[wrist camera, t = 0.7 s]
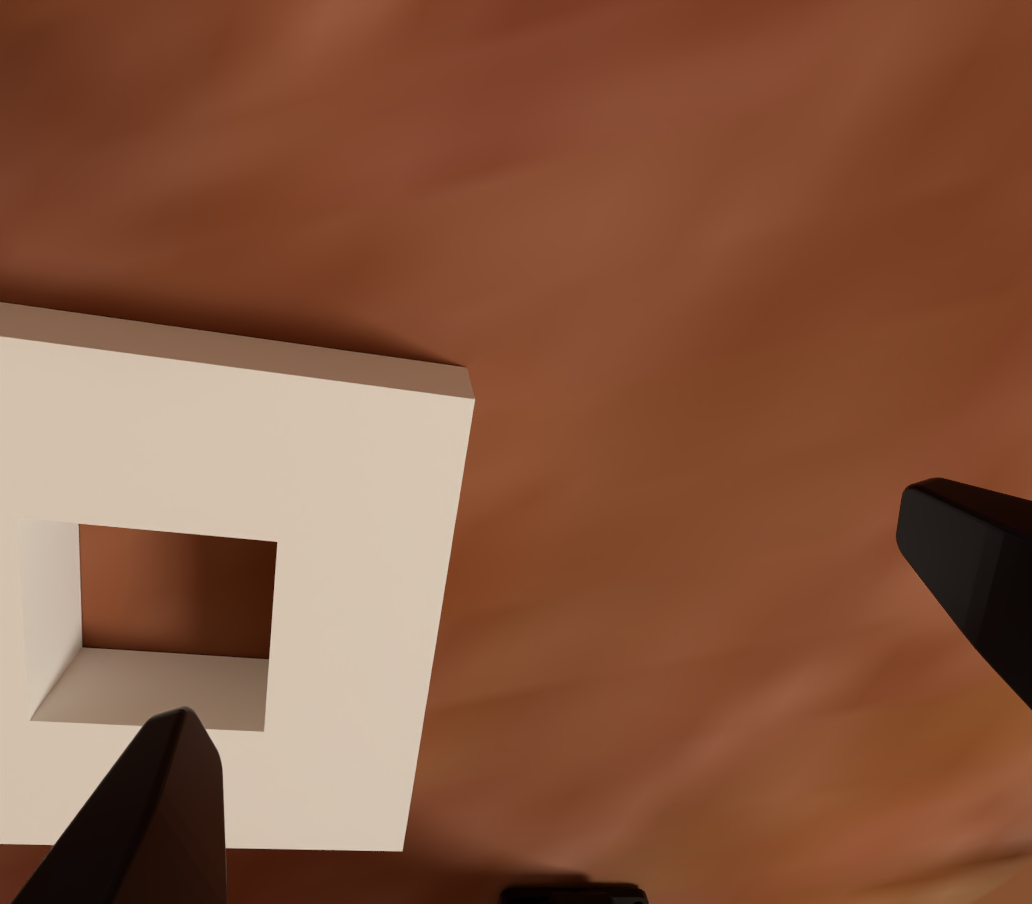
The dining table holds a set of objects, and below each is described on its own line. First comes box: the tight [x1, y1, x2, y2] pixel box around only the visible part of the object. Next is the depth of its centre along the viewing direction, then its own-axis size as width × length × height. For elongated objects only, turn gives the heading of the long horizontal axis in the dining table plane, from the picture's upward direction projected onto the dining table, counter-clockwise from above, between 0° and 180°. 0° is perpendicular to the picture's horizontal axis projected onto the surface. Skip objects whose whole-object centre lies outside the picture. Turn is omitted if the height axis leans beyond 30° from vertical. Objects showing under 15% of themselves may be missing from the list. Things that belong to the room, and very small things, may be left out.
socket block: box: [0, 302, 475, 851], centre depth 22 cm, size 16×16×4 cm
